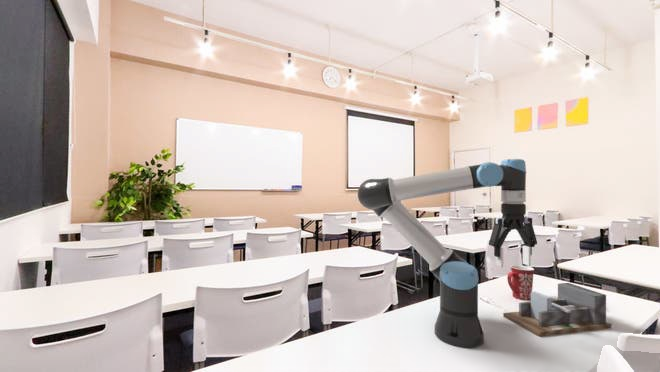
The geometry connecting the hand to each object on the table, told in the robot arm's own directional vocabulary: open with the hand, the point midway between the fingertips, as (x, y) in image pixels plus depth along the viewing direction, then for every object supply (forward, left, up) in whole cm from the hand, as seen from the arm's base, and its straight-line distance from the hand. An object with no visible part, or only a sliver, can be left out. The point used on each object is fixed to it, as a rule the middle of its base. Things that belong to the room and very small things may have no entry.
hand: (513, 265), depth 110 cm
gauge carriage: (+15, -2, -20) cm, 25 cm away
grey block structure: (+18, 0, -22) cm, 28 cm away
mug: (+25, +24, -22) cm, 41 cm away
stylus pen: (+8, +20, -22) cm, 31 cm away
